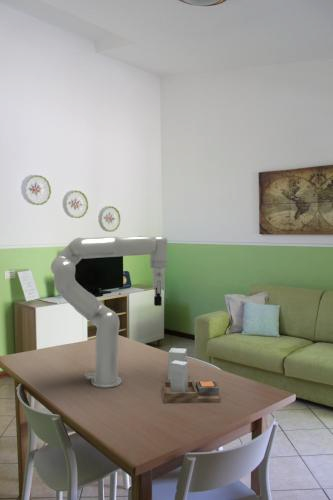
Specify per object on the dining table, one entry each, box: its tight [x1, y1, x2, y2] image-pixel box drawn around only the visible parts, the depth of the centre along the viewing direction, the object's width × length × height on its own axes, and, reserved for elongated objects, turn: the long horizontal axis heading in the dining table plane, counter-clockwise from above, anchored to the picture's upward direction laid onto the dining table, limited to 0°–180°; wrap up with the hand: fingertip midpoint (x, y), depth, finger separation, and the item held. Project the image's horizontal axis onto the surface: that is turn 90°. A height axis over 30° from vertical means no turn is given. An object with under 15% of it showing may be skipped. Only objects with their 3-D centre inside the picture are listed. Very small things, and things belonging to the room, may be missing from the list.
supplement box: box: [167, 347, 188, 381], centre depth 193 cm, size 7×7×13 cm
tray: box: [160, 380, 221, 404], centre depth 173 cm, size 22×14×4 cm, turn 94°
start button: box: [200, 380, 215, 387], centre depth 174 cm, size 5×5×2 cm
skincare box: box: [170, 360, 189, 392], centre depth 173 cm, size 6×4×12 cm
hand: (157, 305), depth 193 cm, fingers closed
